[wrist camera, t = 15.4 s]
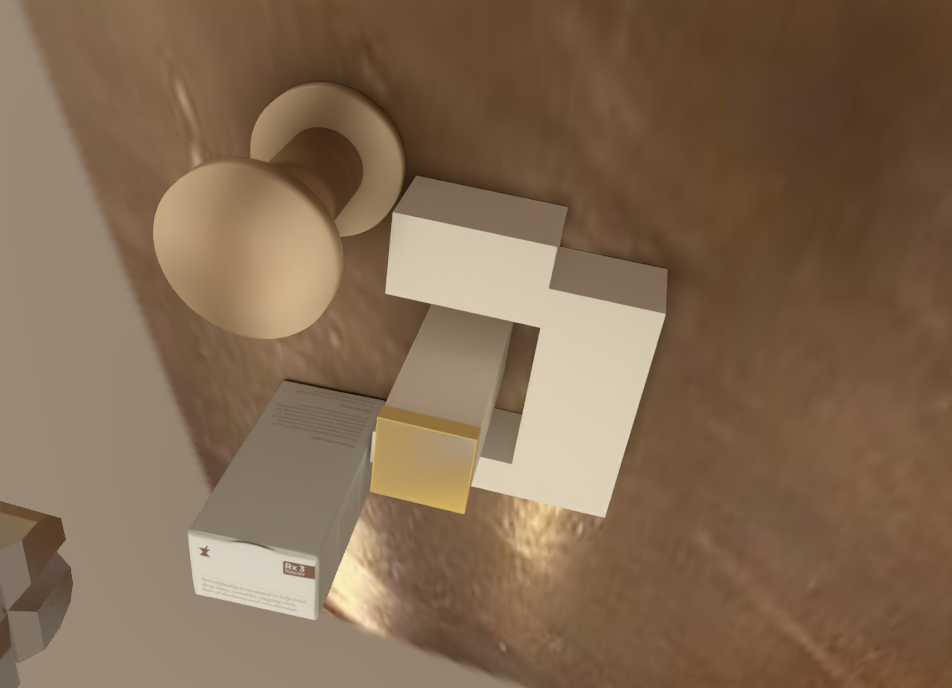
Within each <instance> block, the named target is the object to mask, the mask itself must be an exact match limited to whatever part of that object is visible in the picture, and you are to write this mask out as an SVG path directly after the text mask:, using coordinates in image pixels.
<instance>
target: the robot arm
mask: <svg viewBox="0 0 952 688" xmlns="http://www.w3.org/2000/svg"><path fill="white" fill-rule="evenodd" d="M65 540H66V538H65V534H64V530H63V525H62V521H61V518H58V517H55V516H51V515H47V514H44V513H40V512H37V511H33V510H29V509H26V508H22V507H19V506H15V505H12V504H8V503H5V502H1V501H0V688H17V687H18V686H19V685H20V672H19V663H20V662H22V661H24V660H26V659H28V658H30V657H32V656H34V655H35V654H37V653H39V652H41V651H43V650H45V649H46V647H47V646H48V644H49V643H50V641H51V640H52V638H53V637H54V635H55V634H56V633H57V631H58V630H59V628H60V626H61V624H62V621H63V619H64V616H65V614H66V612H67V609H68V607H69V604H70V601H71V594H72V593H71V592H72V585H73V581H72V575H71V567H70V566H69V565H68V564H67V563H66V562H65V560H64V559H63V558H62V557H61V556H60V555H59V554H58V553H57V550H58V549H59V548H60V546H61V545H62V544H63V542H64V541H65Z"/></svg>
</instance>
